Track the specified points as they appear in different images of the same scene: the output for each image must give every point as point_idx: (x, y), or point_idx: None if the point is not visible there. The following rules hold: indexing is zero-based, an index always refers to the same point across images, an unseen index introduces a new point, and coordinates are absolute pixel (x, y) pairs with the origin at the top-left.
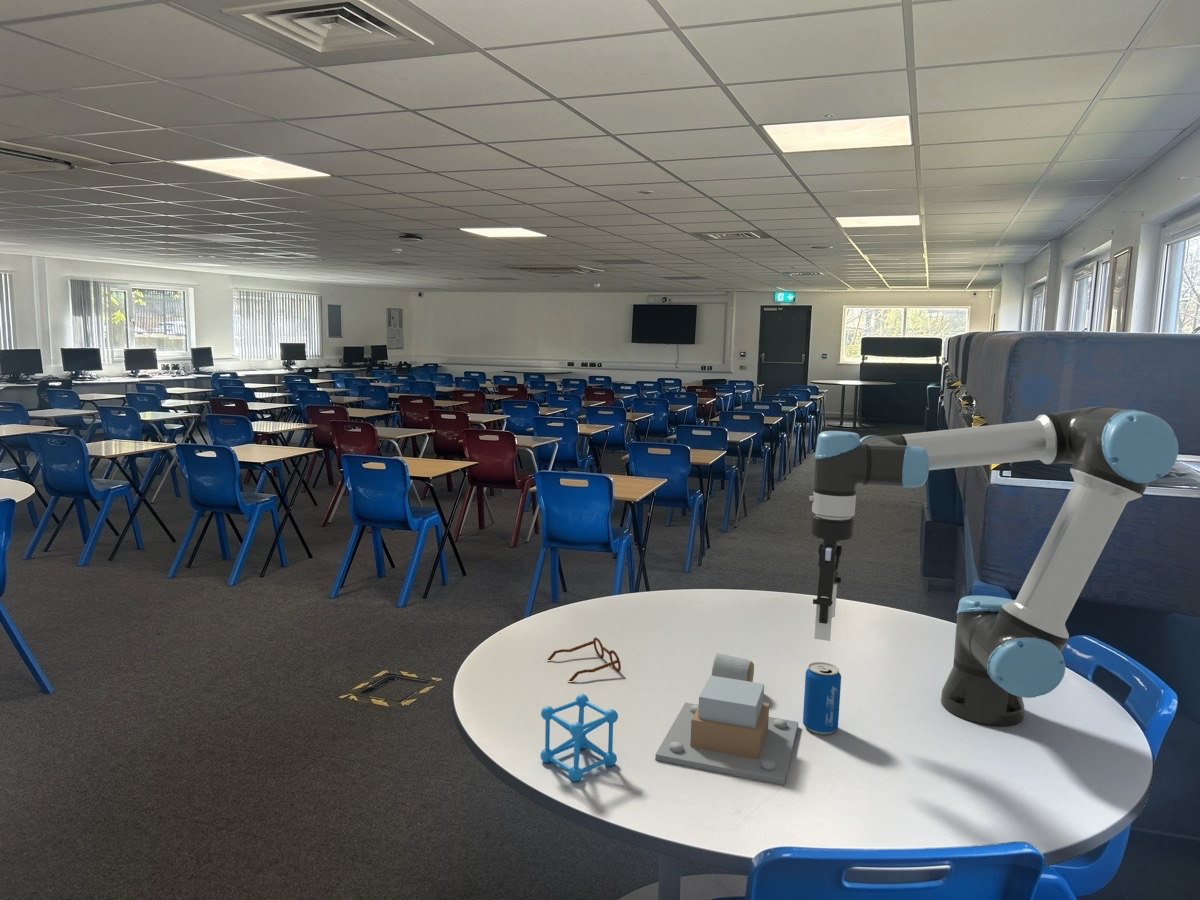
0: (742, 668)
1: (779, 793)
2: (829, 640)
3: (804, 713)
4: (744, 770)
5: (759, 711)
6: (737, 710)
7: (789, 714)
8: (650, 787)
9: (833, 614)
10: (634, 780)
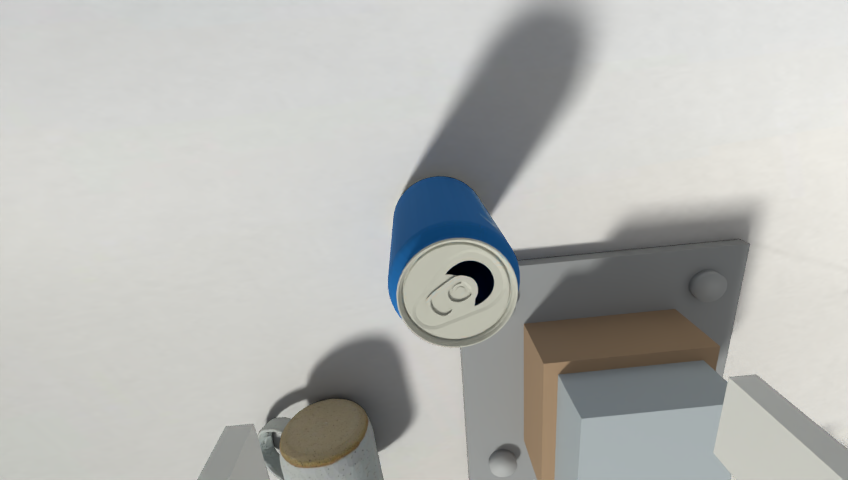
0: (353, 468)
1: (773, 240)
2: (757, 378)
3: (464, 269)
4: (729, 321)
5: (633, 374)
6: None
7: None
8: None
9: (249, 447)
10: None
